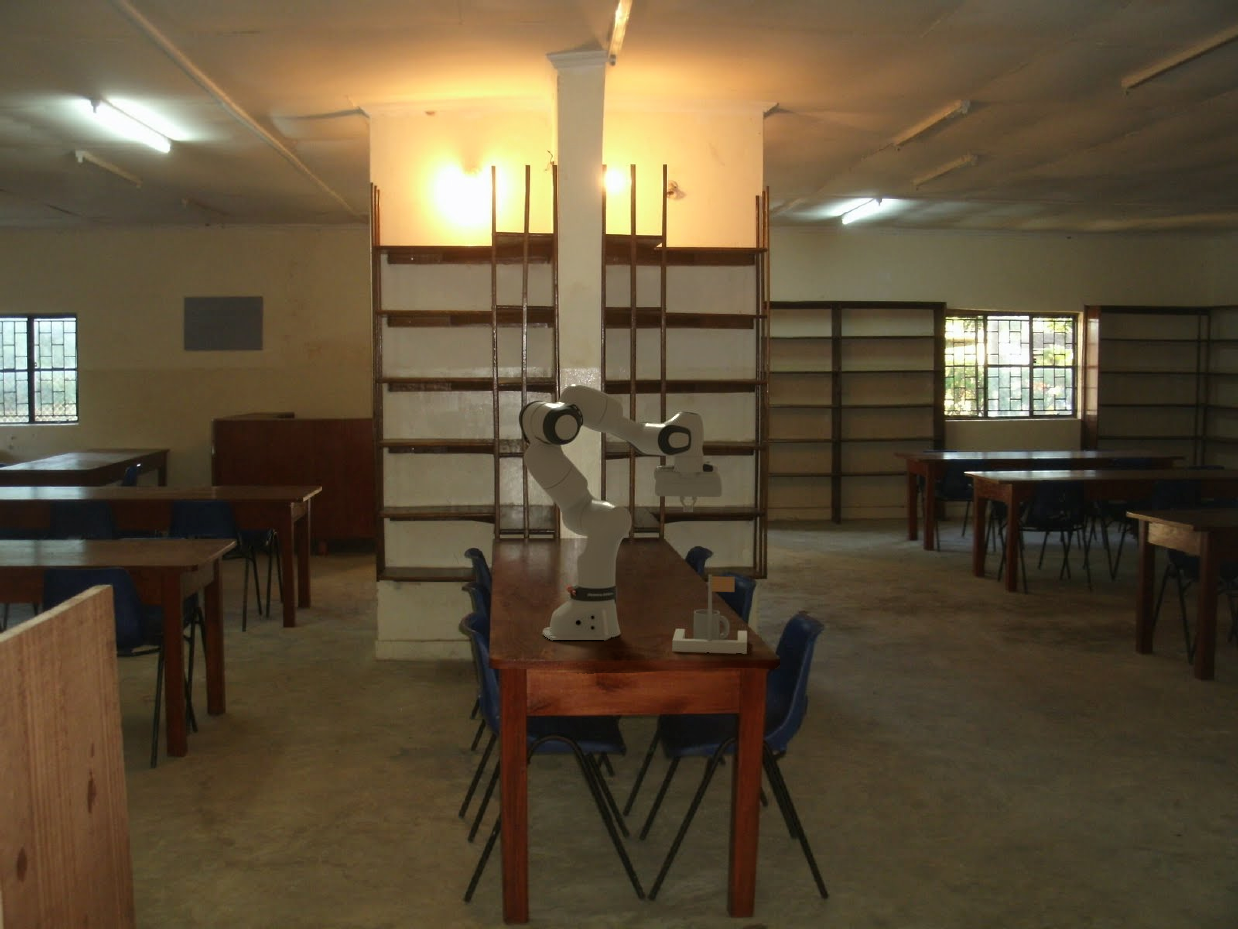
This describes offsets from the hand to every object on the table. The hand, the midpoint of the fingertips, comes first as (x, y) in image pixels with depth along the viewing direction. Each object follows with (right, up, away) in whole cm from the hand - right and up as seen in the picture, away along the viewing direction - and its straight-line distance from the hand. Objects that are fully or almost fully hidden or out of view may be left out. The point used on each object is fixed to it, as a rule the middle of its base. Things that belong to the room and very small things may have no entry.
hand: (688, 511), depth 325 cm
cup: (+5, -36, -23) cm, 43 cm away
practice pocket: (+4, -36, -27) cm, 45 cm away
